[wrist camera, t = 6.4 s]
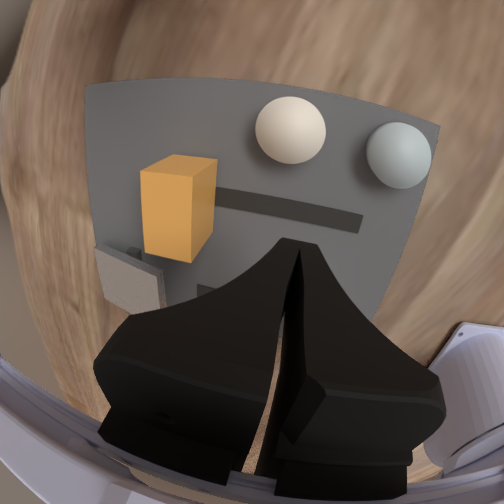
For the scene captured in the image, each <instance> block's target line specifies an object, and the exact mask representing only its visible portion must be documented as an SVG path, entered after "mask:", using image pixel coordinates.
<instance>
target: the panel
mask: <svg viewBox="0 0 504 504" xmlns="http://www.w3.org/2000/svg"><path fill="white" fill-rule="evenodd" d="M439 130H440V126H439V125H437V124H434V123H432V122H429V121H426V120H424V119H421V118H418V117H415V116H412V115H409V114H407V113H403V112H400V111H397V110H394V109H391V108H388V107H384V106H381V105H377V104H374V103H370V102H366V101H363V100H359V99H355V98H351V97H346V96H342V95H338V94H333V93H328V92H323V91H318V90H313V89H307V88H302V87H295V86H289V85H282V84H274V83H266V82H257V81H247V80H234V79H217V78H153V79H136V80H124V81H114V82H105V83H97V84H90V85H85V149H86V166H87V178H88V189H89V198H90V206H91V214H92V221H93V228H94V234H95V240H96V246H97V245H98V244H100V243H102V244H105V245H107V246H109V247H111V248H113V249H116V250H118V251H120V252H122V253H125V254H127V255H129V256H131V257H134V258H136V259H138V260H141V261H143V262H145V263H147V264H150V265H152V266H154V267H157V268H159V269H162V270H164V276H165V288H166V300H167V307H169V306H173V305H176V304H179V303H182V302H185V301H188V300H191V299H194V298H197V297H199V296H202V295H204V294H206V293H208V292H210V291H213V290H215V289H217V288H219V287H221V286H223V285H225V284H226V283H228V282H230V281H231V280H233V279H235V278H236V277H238V276H239V275H241V274H242V273H244V272H245V271H246V270H248V269H249V268H250V267H251V266H253V265H254V264H255V263H257V262H258V261H259V260H260V259H261V258H262V257H263V256H264V255H265V254H267V253H268V252H269V251H270V250H271V249H272V248H273V246H274V245H275V244H276V243H277V242H278V240H279V239H281V238H282V237H284V238H289V239H294V240H299V241H304V242H309V243H313V244H317V245H318V246H319V248H320V250H321V252H322V254H323V256H324V258H325V260H326V262H327V263H328V265H329V267H330V269H331V271H332V272H333V274H334V276H335V277H336V279H337V281H338V282H339V284H340V285H341V287H342V288H343V290H344V291H345V292H346V294H347V295H348V297H349V298H350V299H351V300H352V302H353V303H354V304H355V305H356V306H357V308H358V309H359V310H360V311H361V312H362V313H363V315H364V316H365V317H366V318H367V319H368V320H369V321H370V322H371V321H372V319H373V317H374V315H375V313H376V311H377V309H378V307H379V305H380V303H381V301H382V299H383V296H384V294H385V292H386V290H387V288H388V285H389V283H390V281H391V278H392V276H393V274H394V271H395V269H396V267H397V264H398V262H399V259H400V257H401V254H402V252H403V249H404V247H405V244H406V241H407V239H408V236H409V233H410V231H411V228H412V225H413V222H414V219H415V216H416V213H417V210H418V207H419V204H420V201H421V198H422V195H423V192H424V188H425V185H426V182H427V178H428V175H429V171H430V167H431V164H432V160H433V156H434V152H435V148H436V144H437V139H438V135H439ZM173 154H175V155H185V156H194V157H203V158H211V159H218V162H217V175H216V189H215V205H214V221H213V232H212V234H211V235H210V237H209V238H208V239H207V241H206V242H205V244H204V245H203V247H202V248H201V250H200V251H199V252H198V254H197V255H196V257H195V258H194V260H193V261H192V263H188V262H184V261H179V260H175V259H171V258H166V257H162V256H158V255H153V254H149V253H145V247H144V235H143V222H142V205H141V179H140V171H141V170H143V169H145V168H147V167H149V166H151V165H153V164H155V163H157V162H159V161H160V160H163V159H165V158H167V157H169V156H171V155H173ZM284 313H285V312H284ZM283 326H284V315H283V318H282V321H281V324H280V330H279V336H278V337H283Z"/></svg>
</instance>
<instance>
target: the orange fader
mask: <svg viewBox="0 0 504 504" xmlns="http://www.w3.org/2000/svg"><path fill="white" fill-rule="evenodd" d="M217 162H218V159H211V158H203V157H194V156H185V155H175V154H173V155H171V156H169V157H167V158H165V159H163V160H160V161H159V162H157V163H155V164H153V165H151V166H149V167H147V168H145V169H143V170H141V171H140V179H141V205H142V222H143V235H144V247H145V253H149V254H153V255H158V256H162V257H166V258H171V259H175V260H179V261H184V262H188V263H192V261H193V260H194V258H195V257H196V255H197V254H198V252H199V251H200V250H201V248H202V247H203V245H204V244H205V242H206V241H207V239H208V238H209V237H210V235H211V234H212V232H213V221H214V205H215V189H216V175H217Z"/></svg>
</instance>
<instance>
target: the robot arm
mask: <svg viewBox="0 0 504 504" xmlns="http://www.w3.org/2000/svg"><path fill="white" fill-rule="evenodd" d="M284 312H285V313H284ZM283 315H284V326H283V338H282V349H281V361H280V368H279V374H278V379H277V384H276V389H275V393H274V398H273V402H272V407H271V411H270V415H269V419H268V424H267V428H266V432H265V436H264V440H263V444H262V447H261V451H260V455H259V459H258V462H257V466H256V469H255V473H254V475H251V474H246V473H241V471H242V468H243V466H244V463H245V460H246V458H247V455H248V454H249V451H250V448H251V446H252V443H253V440H254V437H255V434H256V432H257V429H258V426H259V423H260V420H261V417H262V414H263V412H264V409H265V406H266V403H267V399H268V394H269V390H270V385H271V380H272V375H273V370H274V363H275V356H276V349H277V343H278V336H279V330H280V324H281V321H282V318H283ZM93 370H94V373H95V376H96V379H97V382H98V384H99V385H100V387H101V389H102V391H103V393H104V395H105V397H106V398H107V400H108V402H109V404H110V406H111V408H110V410H109V412H108V414H107V415H106V417H105V419H104V421H103V422H102V423H101V422H99V421H98V420H96V419H94V418H92V417H90V416H88V415H86V414H84V413H83V412H81V411H79V410H77V409H76V408H74V407H72V406H71V405H69V404H67V403H65V402H64V401H62V400H60V399H59V398H57V397H56V396H54V395H53V394H51V393H49V392H48V391H47V390H45V389H44V388H42V387H41V386H39V385H38V384H36V383H35V382H33V381H32V380H31V379H29V378H28V377H26V376H25V375H24V374H22V373H21V372H20V371H18V370H17V369H16V368H14V367H13V366H12V365H11V364H9V363H8V362H7V361H6V360H4V359H3V358H2V357H1V354H0V460H1V461H2V462H3V463H4V464H5V465H6V466H7V467H8V468H9V470H10V471H12V473H13V474H14V475H15V476H16V477H18V479H20V480H21V481H22V482H23V483H24V484H25V485H26V486H27V487H28V488H29V489H30V490H31V491H33V492H34V493H35V494H36V495H37V496H38V497H39V498H41V499H42V500H43V501H44V502H46V504H203V503H199V502H196V501H192V500H188V499H185V498H182V497H178V496H175V495H172V494H169V493H166V492H163V491H160V490H157V489H154V488H151V487H149V486H148V485H146V484H145V483H143V482H141V481H140V480H138V479H137V478H136V477H135V476H133V474H131V472H130V470H129V468H128V467H126V466H124V465H122V464H121V463H119V462H117V461H116V460H118V461H120V462H122V463H124V464H126V465H129V466H131V467H133V468H135V469H137V470H140V471H142V472H145V473H147V474H149V475H152V476H155V477H157V478H160V479H162V480H165V481H168V482H171V483H173V484H176V485H179V486H182V487H186V488H189V489H192V490H195V491H199V492H202V493H205V494H209V495H213V496H217V497H221V498H225V499H229V500H233V501H238V502H243V503H248V504H504V327H497V326H490V325H482V324H475V323H468V322H463V323H461V324H459V326H458V327H457V328H456V330H455V331H454V333H453V334H452V336H451V337H450V339H449V340H448V342H447V343H446V344H445V346H444V347H443V349H442V350H441V351H440V353H439V354H438V355H437V357H436V358H435V359H434V361H433V362H432V363H431V365H430V366H429V367H428V368H426V367H424V366H423V365H421V364H420V363H418V362H417V361H415V360H414V359H413V358H411V357H410V356H408V355H407V354H406V353H405V352H403V351H402V350H401V349H400V348H398V347H397V346H396V345H395V344H394V343H392V342H391V341H390V340H389V339H388V338H387V337H386V336H384V335H383V334H382V333H381V332H380V331H379V330H378V329H377V328H376V327H375V326H374V325H373V324H372V323H371V322H370V321H369V320H368V319H367V318H366V317H365V316H364V315H363V313H362V312H361V311H360V310H359V309H358V308H357V306H356V305H355V304H354V303H353V302H352V300H351V299H350V298H349V297H348V295H347V294H346V292H345V291H344V290H343V288H342V287H341V285H340V284H339V282H338V281H337V279H336V277H335V276H334V274H333V272H332V271H331V269H330V267H329V265H328V263H327V262H326V260H325V258H324V256H323V254H322V252H321V250H320V248H319V246H318V245H317V244H313V243H309V242H304V241H299V240H294V239H289V238H284V237H282V238H281V239H279V240H278V242H277V243H276V244H275V245H274V246H273V248H272V249H271V250H270V251H269V252H268V253H267V254H265V255H264V256H263V257H262V258H261V259H260V260H259V261H258V262H257V263H255V264H254V265H253V266H251V267H250V268H249V269H248V270H246V271H245V272H244V273H242V274H241V275H239V276H238V277H236V278H235V279H233V280H231V281H230V282H228V283H226V284H225V285H223V286H221V287H219V288H217V289H215V290H213V291H210V292H208V293H206V294H204V295H202V296H199V297H197V298H194V299H191V300H188V301H185V302H182V303H179V304H176V305H173V306H169V307H165V308H161V309H157V310H152V311H147V312H143V313H138V314H132V315H129V316H128V318H127V319H126V320H125V321H124V322H123V323H122V324H121V325H120V326H119V327H118V328H117V330H116V331H115V332H114V334H113V335H112V336H111V338H110V339H109V340H108V342H107V343H106V345H105V346H104V347H103V349H102V350H101V352H100V353H99V354H98V356H97V357H96V359H95V360H94V365H93ZM422 442H423V445H424V449H425V452H426V454H427V456H428V458H429V459H430V460H431V461H432V462H433V463H434V464H435V465H437V466H439V467H443V470H442V471H441V472H439V473H438V474H437V476H436V478H435V480H431V481H424V482H415V483H407V466H410V465H411V464H412V462H413V455H412V450H413V449H414V448H416V447H417V446H418V445H420V444H421V443H422ZM107 455H108V456H107ZM109 456H110V457H112V458H114V459H116V460H114V459H112V458H110V457H109Z"/></svg>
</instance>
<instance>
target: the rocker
mask: <svg viewBox="0 0 504 504" xmlns="http://www.w3.org/2000/svg"><path fill="white" fill-rule="evenodd" d="M94 253H95V258H96V263H97V267H98V272H99V277H100V281H101V285H102V289H103V293H104V297H105V299H106V300H108V301H110V302H112V303H113V304H115V305H117V306H118V307H120V308H122V309H124V310H125V311H127V312H129V313H131V314H138V313H143V312H147V311H152V310H157V309H161V308H165V307H167V300H166V288H165V276H164V270H162V269H159V268H157V267H154V266H152V265H150V264H147V263H145V262H143V261H141V260H138V259H136V258H134V257H131V256H129V255H127V254H125V253H122V252H120V251H118V250H116V249H113V248H111V247H109V246H107V245H105V244H102V243H100V244H98V245H97V246H95V247H94Z"/></svg>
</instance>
